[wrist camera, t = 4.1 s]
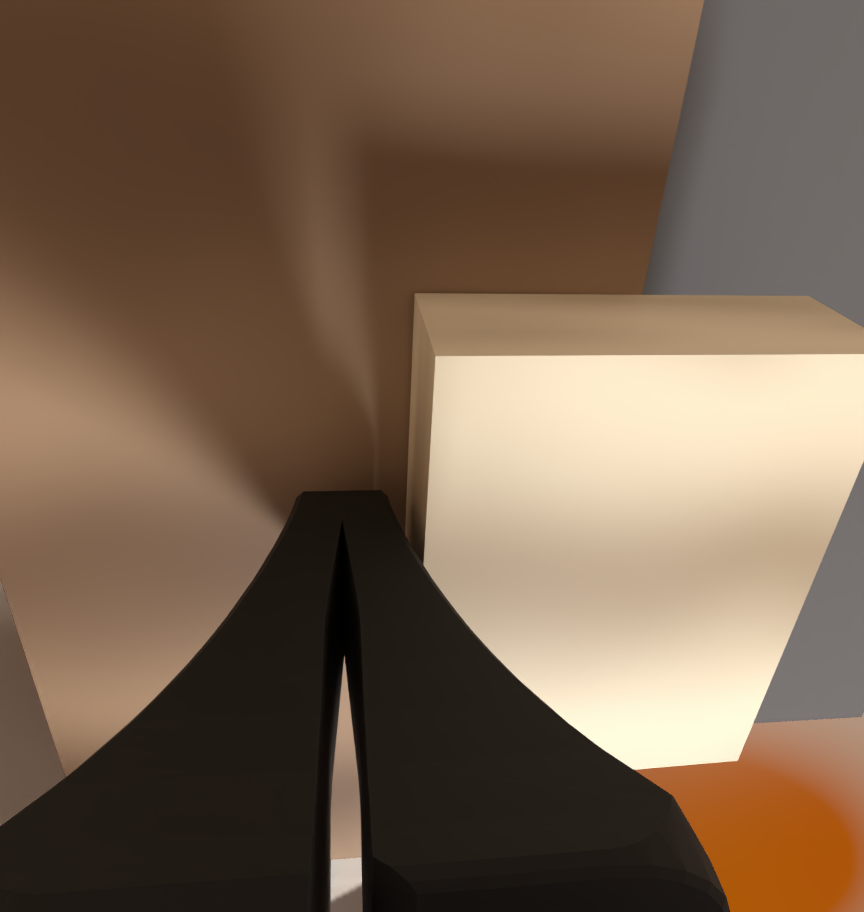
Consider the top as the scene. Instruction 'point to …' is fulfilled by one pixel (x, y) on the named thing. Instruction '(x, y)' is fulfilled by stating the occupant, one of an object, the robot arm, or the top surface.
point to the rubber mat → (780, 252)
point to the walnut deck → (272, 281)
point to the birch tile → (633, 496)
